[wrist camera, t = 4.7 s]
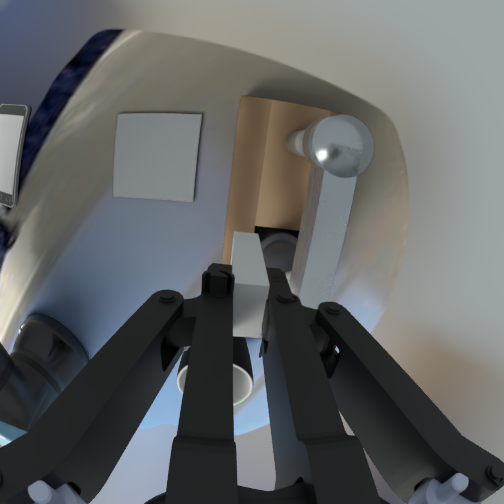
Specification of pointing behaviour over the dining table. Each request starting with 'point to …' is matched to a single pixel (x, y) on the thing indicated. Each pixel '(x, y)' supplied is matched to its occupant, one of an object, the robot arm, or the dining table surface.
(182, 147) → the mat
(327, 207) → the crank
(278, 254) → the plug
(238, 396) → the mug
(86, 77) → the dining table surface
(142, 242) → the dining table surface
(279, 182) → the socket block
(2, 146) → the smartphone
